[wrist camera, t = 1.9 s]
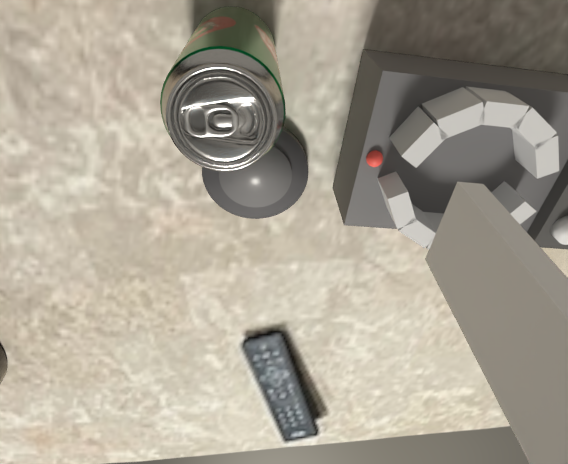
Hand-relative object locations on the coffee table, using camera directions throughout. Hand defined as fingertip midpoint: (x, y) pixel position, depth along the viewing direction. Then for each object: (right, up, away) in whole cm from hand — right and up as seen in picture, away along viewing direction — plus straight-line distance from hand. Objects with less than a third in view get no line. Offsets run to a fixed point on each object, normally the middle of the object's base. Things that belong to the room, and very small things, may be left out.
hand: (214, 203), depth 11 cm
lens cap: (0, +4, +19) cm, 20 cm away
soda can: (-1, +11, +15) cm, 18 cm away
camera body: (+14, +6, +19) cm, 24 cm away
